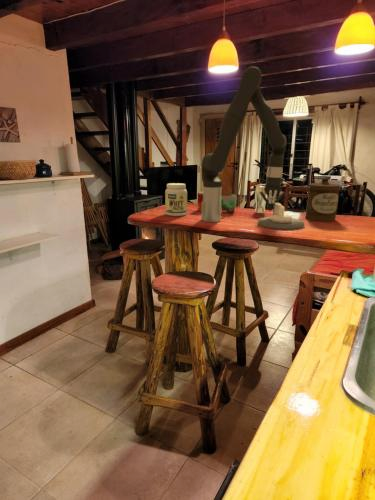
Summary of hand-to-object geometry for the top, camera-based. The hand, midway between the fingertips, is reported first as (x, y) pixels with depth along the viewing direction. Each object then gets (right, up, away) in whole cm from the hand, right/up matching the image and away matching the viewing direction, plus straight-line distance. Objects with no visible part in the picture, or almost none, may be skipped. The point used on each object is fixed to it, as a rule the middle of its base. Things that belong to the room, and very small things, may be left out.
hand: (270, 210), depth 164 cm
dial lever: (+3, -5, -4) cm, 7 cm away
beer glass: (0, +1, +22) cm, 22 cm away
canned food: (-33, +3, +27) cm, 43 cm away
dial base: (+3, -8, -8) cm, 11 cm away
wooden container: (+28, -4, +6) cm, 29 cm away
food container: (-18, +1, +22) cm, 28 cm away
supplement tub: (-49, -1, +15) cm, 51 cm away
